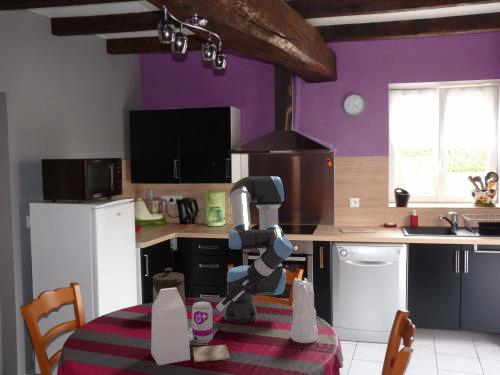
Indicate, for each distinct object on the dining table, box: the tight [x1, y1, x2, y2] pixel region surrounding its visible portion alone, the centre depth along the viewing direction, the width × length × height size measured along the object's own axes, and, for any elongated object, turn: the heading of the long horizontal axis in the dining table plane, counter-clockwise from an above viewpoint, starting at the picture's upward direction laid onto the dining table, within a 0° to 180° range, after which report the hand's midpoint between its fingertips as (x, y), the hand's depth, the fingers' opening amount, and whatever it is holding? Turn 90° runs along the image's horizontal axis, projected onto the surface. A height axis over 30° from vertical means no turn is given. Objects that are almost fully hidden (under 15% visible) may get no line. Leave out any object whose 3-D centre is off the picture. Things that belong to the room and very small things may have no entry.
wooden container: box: [152, 266, 186, 307], centre depth 246 cm, size 15×15×22 cm
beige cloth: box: [192, 344, 231, 363], centre depth 199 cm, size 13×12×1 cm
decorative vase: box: [290, 277, 319, 344], centre depth 213 cm, size 11×11×25 cm
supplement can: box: [191, 301, 214, 344], centre depth 212 cm, size 8×8×15 cm
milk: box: [150, 288, 191, 366], centre depth 196 cm, size 12×12×26 cm
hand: (225, 303), depth 208 cm, fingers open, 13 cm apart
